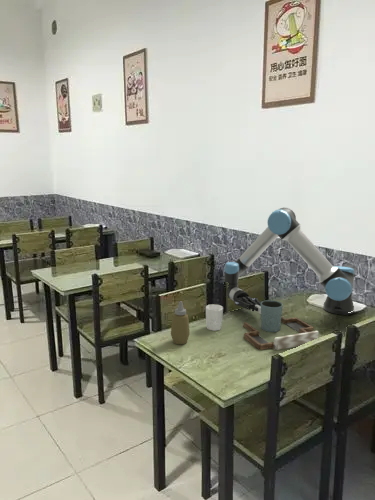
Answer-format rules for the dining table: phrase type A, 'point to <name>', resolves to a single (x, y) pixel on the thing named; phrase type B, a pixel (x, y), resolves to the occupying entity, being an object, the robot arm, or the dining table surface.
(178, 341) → the squeeze bottle
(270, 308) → the blue-grey cup
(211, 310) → the white cup
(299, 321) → the brown walled tray frame
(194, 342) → the dining table surface
